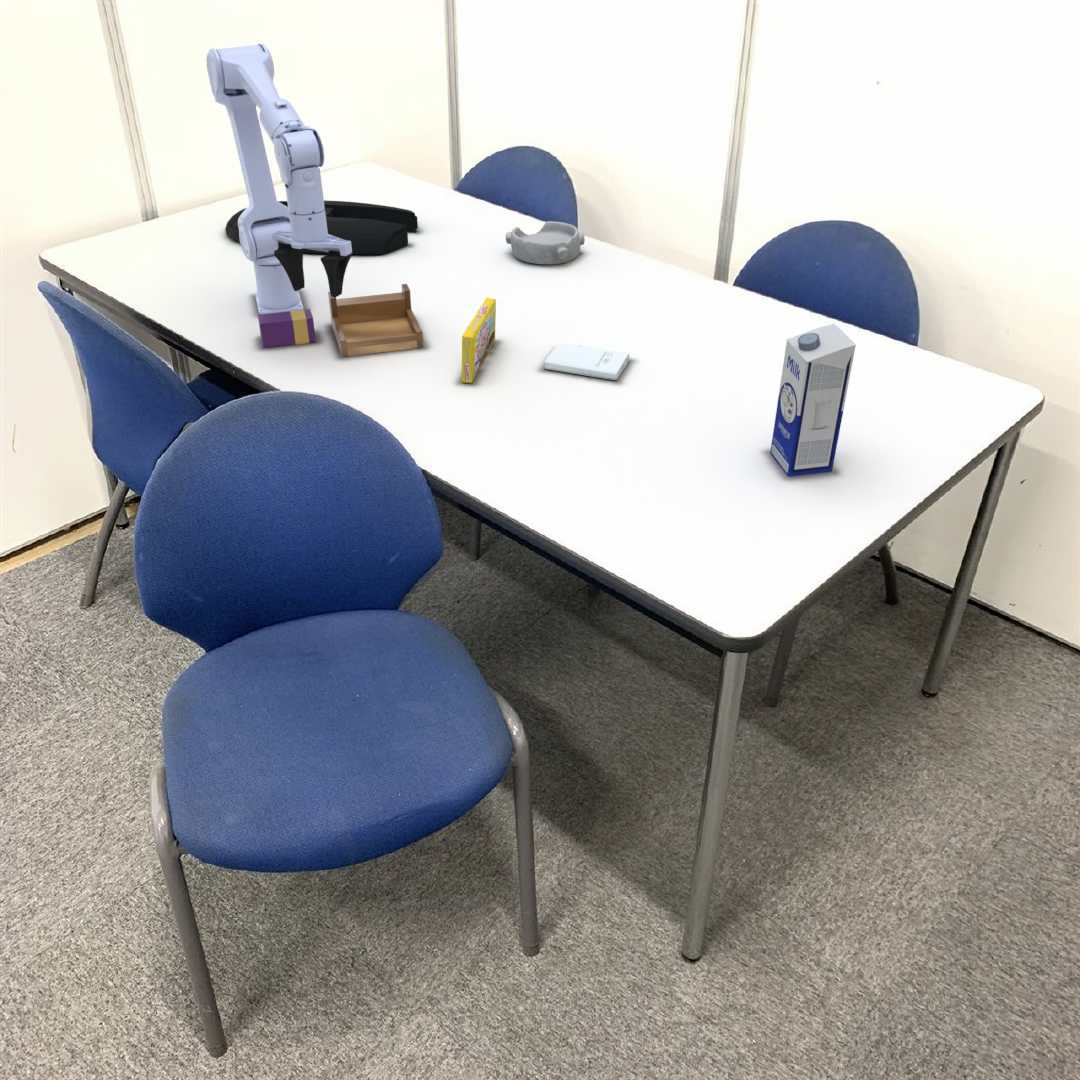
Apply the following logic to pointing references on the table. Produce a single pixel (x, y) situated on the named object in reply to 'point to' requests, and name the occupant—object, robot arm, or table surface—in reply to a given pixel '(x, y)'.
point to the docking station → (357, 226)
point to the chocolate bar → (286, 328)
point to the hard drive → (586, 361)
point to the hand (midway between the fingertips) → (317, 292)
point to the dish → (547, 243)
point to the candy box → (478, 340)
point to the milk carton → (812, 400)
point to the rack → (375, 323)
